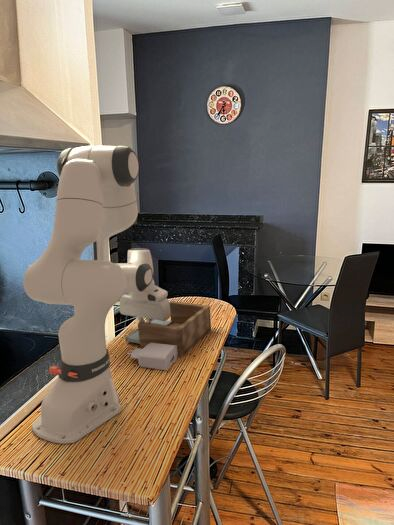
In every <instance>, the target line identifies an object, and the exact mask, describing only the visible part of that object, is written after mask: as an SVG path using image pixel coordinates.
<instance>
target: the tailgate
mask: <svg viewBox="0 0 394 525" xmlns="http://www.w3.org/2000/svg"><path fill="white" fill-rule="evenodd" d="M151 323H154V324H160V325H166V326H171V325H172V321H171V320H168V319H167V320H166V321H161V320H155V319H152V321H151ZM124 339H125V341H126V342H129V343H136V344H139V345H140V341H139V331H138V328H137V329H136V330H133V332H131V333H129V334H128V335H127V336H125V337H124Z"/></svg>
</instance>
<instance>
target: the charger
mask: <svg viewBox="0 0 394 525" xmlns="http://www.w3.org/2000/svg"><path fill="white" fill-rule="evenodd" d="M127 355H130V358H131V359H135V360H137V362H138V365H139V367H140V368H147V369H155V370H162V371H168V370H169V369H170V367H171V366H172V365H173V363H174V362H175V361H176V360H177V359H178V358H179V357H178V352H177V345H168V344H159V343H149V344H147V345H146V346H145V347H144V348H143V349H140V347H139V348H138V347H137V348H134V350H132V349H130V350H129V352H127Z"/></svg>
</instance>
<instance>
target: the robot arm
mask: <svg viewBox="0 0 394 525" xmlns="http://www.w3.org/2000/svg"><path fill="white" fill-rule="evenodd" d="M139 168H140V167H139V160H138V157H137V153H136V152H135V151H134V150H133V149H132V148H131V147H130V146H126V145H121V144H118V145H116V146H115V145H98V144H94V145H93V144H92V145H91V144H90V145H83V146H79V147H75V146H74V147H69V148H66V149H64V150H62V152H61V153H60V154H59V156H58V158H57V162H56V169H57V173H58V176H59V180H58V184H57V192H56V201H55V213H54V223H53V229H52V234H51V237H50V240H49V242H48V244H47V246H46V247H45V250H44V251H43V252H42V254H41V255H40V256H39V257H38V258H37V260H35V261H34V262H33V263H31V264H30V265H29V266H28V267H27V269H26V270H25V273H24V275H23V281H22V282H23V283H22V284H23V289H24V292H25V294H26V295H27V296H28V298H30V299H31V300H34V301H36V302H40V303H43V304H49V305H63V306H66V305H68V306H69V305H70V306H73V310H74V312H73V314H74V315H73V316H72V317H70V318H68V319H66V320H65V321H64V322H63V323H62V324H61V326H60V328H59V330H58V334H57V335H58V342H59V347H60V348H59V349H60V355H61V358H60V362H59V366H55V365H52V366H50V368H49V371H48V372H49V374H50V375H54V376H58V377H57V378H56V379H55V381H54V383H53V384H52V386H51V387H50V389H49V391H48V393H46V394H45V395H46V396H45V397H44V398H43V400H42V402H41V405H40V416H39V417H38V418H37V419H36V420H35V421H34V422H33V423H32V425H31V429H32V432H33V434H34V435H36V436H37V437H38V438H41V439H43V440H45V441H48V442H50V443H51V442H52V443H55V444H56V443H57V444H65V445H66V444H73V443H76V442H79V440H81V439H82V438H84V437H85V436H86V435H88V434H90V433H91V432H93V431H94V430H96V429H97V428H99V427H100V426H101V425H103V424H104V423H106V422H107V421H109V420H111V419H112V418H113V417H115V416H116V415H117V414H119V413H120V412H122V406H121V403H120V396H119V393H118V392H117V389H116V387H115V383H114V379H113V376H112V373H111V372H112V371H111V369H110V366H111V358H110V357H111V356H110V353H109V349H107V342H106V320H107V316H108V314H109V311H110V310H111V308H112V307H114V306H115V305H116V304H117V303H119V313H120V314H121V315H124V316H130V317H137V321H138V323H139V322H140V321H141V322H148V323H151V321H152V319H155V320H161V321H166V320H167V321H168V320H169V319H170V318H171V310H170V301H169V299H168V298H167V297H168V295H169V294H168V291H167V290H165V289H163V288H161V287H159V286H158V285H155V280H154V277H153V276H154V265H153V264H154V263H153V258H152V254H151V250H150V249H148V248H146V247H145V248H144V247H141V248H140V247H138V248H137V247H136V248H130V249H128V250H127V262H126V263H125V262H124V263H123V262H120V263H117V262H116V263H114V262H112V261H111V260H110V250H109V249H110V247H109V245H110V244H109V241H110V238H111V237H113V236H115V235H118V234H119V233H123V232H124V231H125V230H127V229H129V228H130V227H132V226H133V224H134V223H135V222H136V220H137V218H138V215H139V213H138V212H139V209H138V202H137V195H136V191H135V187H134V182H136V180H137V178H138V176H139V170H140V169H139ZM91 245H92V246H93V249H92V250H93V259H81V257H82V255H83V252H84V251H86V248H88V247H89V246H91ZM145 320H146V321H145Z"/></svg>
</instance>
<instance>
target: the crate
mask: <svg viewBox="0 0 394 525" xmlns="http://www.w3.org/2000/svg"><path fill="white" fill-rule="evenodd" d="M169 303H170V310H171V316H170V321H172V325H170V326H166V325H160V324H154V323H148V322H147V321H145V322H141V321H140V322H139V321H138V322H137V329H138V331H139V341H140V344H139V348H140V349H143V348H144V347H145V346H146V345H147V344H149V343H159V344H168V345H177V352H178V357H177V358H184V357H185V355H186V354H187V353H189V351H191V350H192V349H193V348H194V347H195V346H196V345H197V344H199V342H200V341H202V339H204V338H205V337H206V336H207V335H208V334H209V333H210V332H211V331H212V323H211V320H212V319H211V306H210V305H205V304H197V303H190V302H189V303H188V302H183V301H175V300H171V301H169Z"/></svg>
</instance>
